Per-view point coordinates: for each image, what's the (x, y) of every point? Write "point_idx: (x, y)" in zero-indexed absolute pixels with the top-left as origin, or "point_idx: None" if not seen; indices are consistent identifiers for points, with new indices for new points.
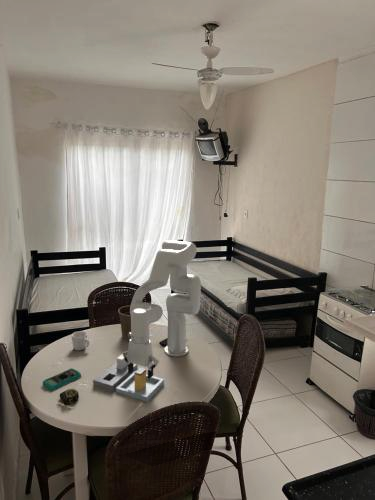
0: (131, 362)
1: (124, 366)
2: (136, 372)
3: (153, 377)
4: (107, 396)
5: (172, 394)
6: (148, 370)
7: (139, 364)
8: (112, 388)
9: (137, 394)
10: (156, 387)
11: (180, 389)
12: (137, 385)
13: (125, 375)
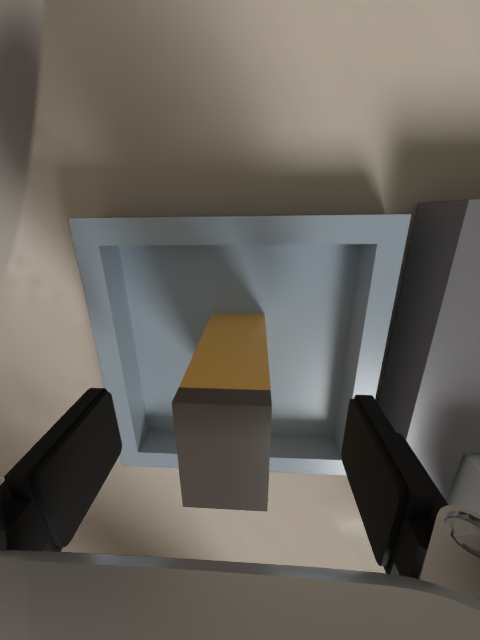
0: (380, 603)
1: (469, 494)
2: (245, 413)
3: None
4: (442, 136)
5: (29, 372)
6: (19, 480)
7: (87, 588)
8: (445, 203)
9: (165, 218)
10: (103, 372)
11: (28, 428)
12: (237, 329)
13: (407, 407)
